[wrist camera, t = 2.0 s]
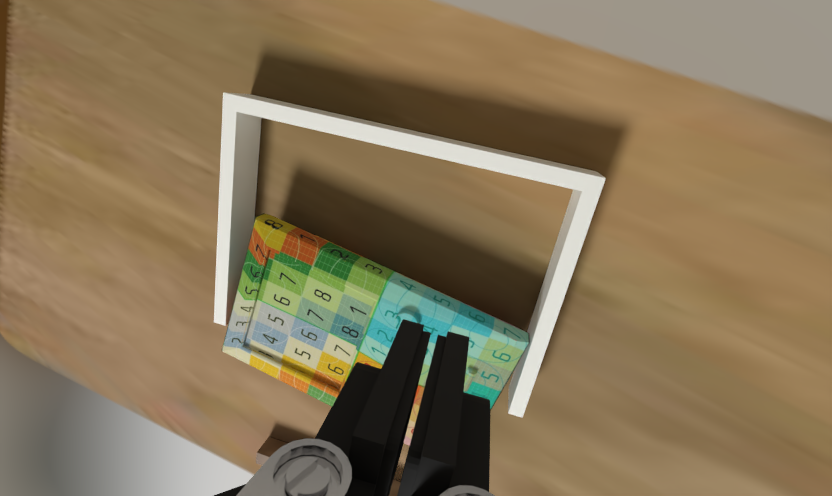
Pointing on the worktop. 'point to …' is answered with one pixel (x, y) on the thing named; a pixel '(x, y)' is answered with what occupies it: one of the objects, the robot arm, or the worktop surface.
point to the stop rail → (274, 444)
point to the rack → (245, 141)
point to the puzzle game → (349, 317)
